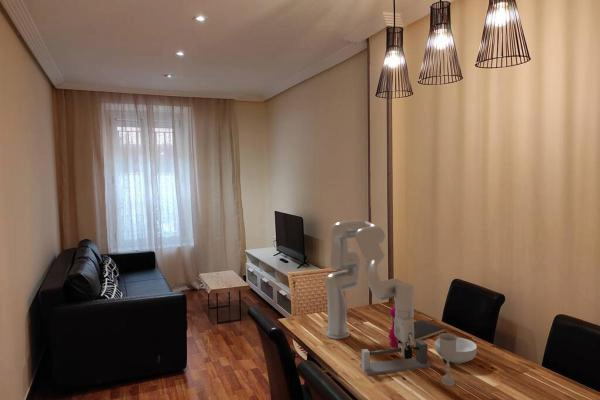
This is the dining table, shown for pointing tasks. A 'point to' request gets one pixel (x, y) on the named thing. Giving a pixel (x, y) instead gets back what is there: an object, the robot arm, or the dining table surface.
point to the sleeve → (402, 345)
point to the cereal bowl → (460, 350)
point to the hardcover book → (425, 330)
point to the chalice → (447, 354)
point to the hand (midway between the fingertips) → (404, 354)
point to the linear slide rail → (395, 364)
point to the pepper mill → (391, 334)
